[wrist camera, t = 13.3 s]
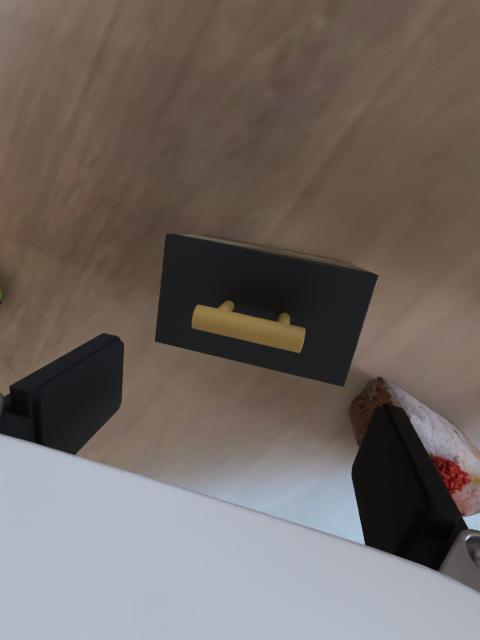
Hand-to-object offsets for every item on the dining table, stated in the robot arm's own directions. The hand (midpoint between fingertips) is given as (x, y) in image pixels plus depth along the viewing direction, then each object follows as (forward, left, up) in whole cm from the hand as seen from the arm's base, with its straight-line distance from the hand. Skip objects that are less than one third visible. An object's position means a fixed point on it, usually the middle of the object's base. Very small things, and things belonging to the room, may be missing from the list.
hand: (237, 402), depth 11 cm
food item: (+10, +20, -25) cm, 34 cm away
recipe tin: (-4, -2, -16) cm, 17 cm away
